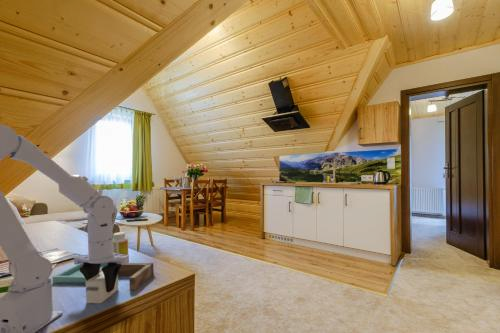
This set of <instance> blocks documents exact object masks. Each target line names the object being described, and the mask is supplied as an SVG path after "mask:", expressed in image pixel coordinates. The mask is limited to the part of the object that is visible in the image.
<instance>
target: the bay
mask: <svg viewBox="0 0 500 333" xmlns="http://www.w3.org/2000/svg"><path fill="white" fill-rule="evenodd" d="M100 272H102V269H101V270H100V271H99V273H100ZM154 272H155V271H154V262H128V263H127V264H125V265H122V266H121V268H120V270H119V272H118V277H120V276H121V277H123V276H124V277H126V276H127V277H128V278H129V291H136V290H137V289H138V288H139V287H140V286H142V285H143V284H145V283H146V282H147V280H148V279H150V278H151V277H152V276H153V275H154ZM129 276H130V277H129Z"/></svg>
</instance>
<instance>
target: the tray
mask: <svg viewBox="0 0 500 333" xmlns="http://www.w3.org/2000/svg"><path fill="white" fill-rule="evenodd" d="M107 265H108V264H101V265H100V270H101V269H102V268H103V267H105V266H107ZM81 267H83V264H75V265H73V266H72V267H70V268H68V269H66V270H63V271H62V272H60V273H58V274H56V275H54V276H51V279H52V284H54V285H55V284H57V285H59V284H61V285H62V284H63V285H86V281H87V280H86V278H85V277H84V275H83V274H82V273H81V272H80V268H81Z"/></svg>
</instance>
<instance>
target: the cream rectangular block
mask: <svg viewBox="0 0 500 333" xmlns="http://www.w3.org/2000/svg"><path fill="white" fill-rule="evenodd" d="M117 291H119V276H118V275H117V278H116V282H115V286H114V289H113V290H112V291H111V292H107V291H106V282H105V277H104V274H103V271H102V272H100V273H99V274H97V275H95V276H94V277H92V278H91V279H89V280H87V281H86V284H85V299H86V300H85V301H86V302H85V303H86V304H102V303H103V302H104V301H106V300H107V299H108V298H110V297H111V296H112V295H114V294H115V293H116V292H117Z"/></svg>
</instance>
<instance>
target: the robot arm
mask: <svg viewBox="0 0 500 333" xmlns="http://www.w3.org/2000/svg"><path fill="white" fill-rule="evenodd" d="M8 156H9V157H8ZM6 157H8V159H9V160H14V161H19V162H23V163H26V164H28V165H30V166H31V167H33V168H34V169H36V170H37V171H39V172H40V173H41V174H43V175H45V176H46V177H48V178H49V179H50V180H51V181H52V182H54V183H56V184H57V185H58V193H60V194H61V195H63V196H64V197H66V198H67V199H69V200H70V201H71V202H73V203H74V204H75V205H77V206H79V207H80V208H82V210H83V212H84V214H87V245H88V246H87V247H88V248H87V251H88V252H87V253H88V254H79V255H77V256H74V257H73V264H74V265H78V264H83V267H81V268H80V272H81V273H82V274H83V275H84V277H85V278H86V280H89V279H91V278H92V277H94V276H95V275H97V274H99V271H100V265H101V264H108V265H107V266H105V267H103V268H102V271H103V274H104V277H105V282H106V291H107V292H111V291H112V290H113V289H114V286H115V282H116V278H117V275H118V272H119V270H120V268H121V266H122V265H125V264H127V263H130V256H129V254H128V255H122V254H117V253H114V251H113V234H114V233H113V216H112V215H113V214H114V212H115V210H116V207H117V206H116V204H115V203H114V200H113V199H112V198H111V197H110V196H108V195H103V190H101V189H97V188H96V187H95V186H93V185H92V184H91V183H90V182H89V178H87V177H86V176H84V175H83V176H82V175H81V174H70V173H69V172H67V170H65V169H63V167H62V166H60V164H57V163H56V162H55V161H54V160H53V159H52V158H51V157H49V156H48V155H47V154H46V153H44V151H43V150H41V149H40V148H39V147H38V146H36V145H35V144H34V143H32V142H31V141H30V140H28V139H27V138H26V137H24V136H22V134H19V135H18V134H17V133H16V131H15V130H13V128H11V127H10V126H8V125H7V126H6V125H4V124H0V163H2V161H3V160H4V159H5V158H6ZM0 248H1V250H2V251H3V253H4V255H5V256H6V258H7V259H8V266H7V267H8V268H7V270H8V273H9V274H10V275H11V276H12V277H13V279H12V280H11V282H10V284H9V285H8V289H7V291H6V293H5V294H3V295H2V296H1V297H0V333H36V332H38V331H39V330H41V329H42V328H43V327H45V326H46V325H48V324H49V323H51V322H53V321H54V320H55V319H57V318H58V317H60V316H61V315H62V314H63V311H62V310H54V309H53V288H52V286H53V285H52V284H53V281H52V273H53V263H52V262H51V261H50V260H49V259H47V258H46V257H44V256H43V254H42V253H41V251H39V250H37V248H36V246H35V245H34V243H32V241H31V239H30V238H29V236H28V233H27V232H26V231H25V229H24V227H23V225H22V224H21V222H20V220H19V219H18V217H17V215H16V213H15V212H14V210H13V209H12V207H11V204H9V202H8V200H7V198H6V197H5V194H4V193H3V192H2V190H1V189H0Z"/></svg>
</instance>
